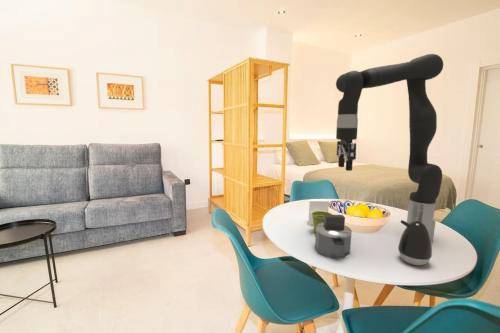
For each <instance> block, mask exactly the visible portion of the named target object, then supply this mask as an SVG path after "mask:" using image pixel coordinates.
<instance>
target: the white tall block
mask: <svg viewBox="0 0 500 333" xmlns="http://www.w3.org/2000/svg"><path fill="white" fill-rule="evenodd" d="M329 202H330V201H329V200H328V199H318V198H317V199H309V204H308V224H309V225H310V226H312V227H314V222H313V216H312V212H315V211H324V212H329V205H330V204H329Z"/></svg>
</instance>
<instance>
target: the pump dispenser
mask: <svg viewBox="0 0 500 333" xmlns="http://www.w3.org/2000/svg"><path fill="white" fill-rule="evenodd" d="M400 223H401V224H402V225H404V226H405V229H404V231H403V232H402V234H401V236H400V239H399V243H398V247H397V250H398V252H399V255H400V257H401V259H402V260H403V261H404V262H406V263H408V264H409V265H412V266H424V265H426V264H428V263H429V261H430V259H431V258H432V255H433V247H432V246H433V245H432V243H431V238H430V235H429V232H428V229H427V227H426V226H425V225H424V224H423V223H422V222H419V221H413V222H411V223H410V224H409V223H407V221H405V220H403V219H402V220H400Z"/></svg>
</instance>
